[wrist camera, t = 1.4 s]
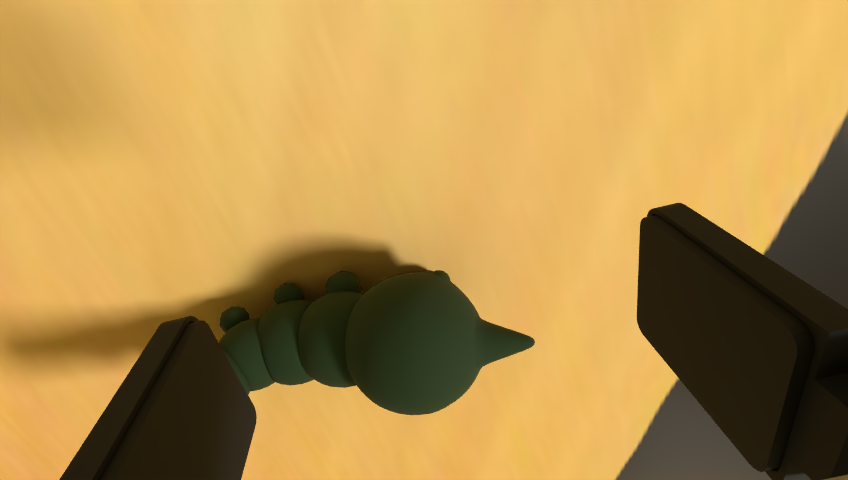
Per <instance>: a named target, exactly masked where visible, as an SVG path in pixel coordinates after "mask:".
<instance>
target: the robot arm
mask: <svg viewBox="0 0 848 480" xmlns="http://www.w3.org/2000/svg"><path fill="white" fill-rule="evenodd" d="M637 322H638V326H639V328H640V330H641V332H642V334H643V335H644V336H645V338H646V339H647V340H648V341H649V342H650V344H651V345H652V346H653V347H654V348H655V350H656V351H657V352H658V353H659V355H660V356H661V357H662V358H663V359H664V361H665V362H666V363H667V364H668V365H669V367H670V368H671V369H672V370H673V372H674V373H675V374H676V375H677V376H678V378H679V379H680V380H681V381H682V382H683V383H684V385H685V386H686V387H687V389H689V391H690V392H691V393H692V395H693V396H694V397H695V398H696V399H697V401H698V402H699V403H700V404H701V405H702V407H703V408H704V409H705V410H706V412H707V413H708V414H709V415H710V416H711V418H712V419H713V420H714V421H715V423H716V424H717V425H718V426H719V427H720V429H721V430H722V431H723V432H724V433H725V435H726V436H727V437H728V438H729V439H730V441H731V442H732V443H733V444H734V445H735V447H736V448H737V449H738V450H739V451H740V453H741V454H742V455H743V456H744V458H745V459H746V460H747V461H748V462H749V464H750V465H751V466H752V467H753V468H755V469H756V470H758V471H760V472H763V471H765V472H766V473H767V474H768V475H769V477H770V478H771V479H772V480H848V309H846V308H845V307H843V306H842V305H840V304H838V303H837V302H836V301H834V300H832V299H831V298H829V297H828V296H826V295H825V294H823V293H821V292H820V291H818V290H816V289H815V288H814V287H812V286H810V285H809V284H807V283H806V282H804V281H803V280H801V279H800V278H798V277H796V276H795V275H793V274H792V273H790V272H789V271H787V270H785V269H784V268H782V267H781V266H779V265H778V264H776V263H775V262H773V261H772V260H770V259H768V258H767V257H765V256H764V255H762V254H761V253H759V252H758V251H756V250H754V249H753V248H751V247H750V246H748V245H747V244H745V243H744V242H742V241H740V240H739V239H737V238H736V237H734V236H733V235H731V234H730V233H728V232H726V231H725V230H723V229H722V228H720V227H719V226H717V225H715V224H714V223H712V222H711V221H709V220H708V219H706V218H705V217H703V216H701V215H700V214H698V213H697V212H695V211H694V210H692V209H691V208H689V207H687V206H686V205H684V204H682V203H675V204H671V205H667V206H663V207H658V208H654V209H651V210H650V211H649V212H648V215H647V217H645V218H643V219H642V220H641V224H640V244H639V271H638V299H637ZM255 425H256V411H255V407H254V405H253V403H252V402H251V400H250V398H249V396H248V395H247V393H246V391H245V389H244V387H243V386H242V384H241V382H240V380H239V379H238V377H237V375H236V373H235V371H234V370H233V368H232V366H231V364H230V363H229V361H228V359H227V357H226V355H225V354H224V352H223V350H222V348H221V347H220V345H219V343H218V341H217V339H216V338H215V336H214V334H213V332H212V331H211V329H210V327H209V325H208V324H207V323H206V322H205V321H199V320H198V319H197V318H195V317H193V316H189V317H184V318H180V319H176V320H171V321H167V322H164V323H162V324H161V325H160V326H159V327H158V329H157V330H156V332H155V334H154V335H153V337H152V338H151V340H150V341H149V343H148V344H147V346H146V347H145V349H144V350H143V352H142V354H141V355H140V357H139V358H138V360H137V361H136V363H135V364H134V366H133V367H132V369H131V371H130V372H129V374H128V375H127V377H126V378H125V380H124V381H123V383H122V384H121V386H120V387H119V389H118V391H117V392H116V394H115V395H114V397H113V398H112V400H111V401H110V403H109V404H108V406H107V407H106V409H105V411H104V412H103V414H102V415H101V417H100V418H99V420H98V421H97V423H96V424H95V426H94V427H93V429H92V431H91V432H90V434H89V435H88V437H87V438H86V440H85V441H84V443H83V444H82V446H81V447H80V449H79V451H78V452H77V454H76V455H75V457H74V458H73V460H72V461H71V463H70V464H69V466H68V467H67V469H66V471H65V472H64V474H63V475H62V477H61V478H60V480H241V477H242V474H243V470H244V466H245V462H246V459H247V455H248V451H249V448H250V444H251V440H252V437H253V433H254V429H255Z"/></svg>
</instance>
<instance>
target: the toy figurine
mask: <svg viewBox="0 0 848 480" xmlns="http://www.w3.org/2000/svg"><path fill="white" fill-rule="evenodd" d="M360 292H361V290H360V285H359V282H358V280H357V277H356V276H355V275H354V274H352V273H350V272H345V271H341V272H339V273H337V274H335V275H333V276H331V277H329V279H328V282H327V284H326V293H327V294H326V295H324V296H322V297H320V298H318V299H317V300H316V301H314V302H313V303H312V302H309V301H305V300H302V298H303V296H302V292H301V290H300V289H299V288H298V287H297V286H296V285H295V284H294V283H284V284H283V285H281V286H280V287H279V288H277V289H276V290H275V294H274V300H275V301H276V303H277V304H276V305H275V306H274V307H272V308H271V309H269V310H268V311H266V312H265V313H264V314H263V316H262V317H261V318H258V319H249V314H248V312H247V311H246V310H245V309H244V308H241V307H230V308H229V309H227V310H225V311H224V312H223V313H222V315H221V318H220V326H221V327H222V329H223V331H224V332H226V333H225V335H224V336H223V337H222V338H221V340H220V342H219V345H220V347H221V348H222V350H223V352H224V354H225V355H226V357H227V359H228V361H229V363H230V364H231V366H232V368H233V370H234V371H235V373H236V375H237V377H238V379H239V380H240V382H241V384H242V386H243V387H244V389H245V391H246V393H247V395H248V394H249V392H250V391H255V390H260V389H263V388H265V387H268V386H270V385H271V384H273V383H274V382H277V383H280V384H285V385H297V384H303V383H306V382H309V381H311V380H314V379H315V380H316V381H318V382H320V383H321V384H325V385H328V386H332V387H350V386H355V385H357V386H358V388H359V389H360V390H361V391H362V392H363V393H364V394H365V395H366V396H367V397H368V398H369V399H370V400H371V401H372V402H374V403H375V404H377V405H378V406H380V407H382V408H384V409H387V410H389V411H392V412H396V413H399V414H406V415H421V414H430V413H434V412H437V411H439V410H441V409H443V408H445V407H447V406H448V405H450V404H452V403H453V402H455V401H456V400H457V399H459V398H460V397H461V396H462V395H463V394H464V393H465V392H466V391H467V390H468V389H469V388H470V386H471V385H472V383H473V382H474V380H475V379H476V377H477V375H478V373H479V371H480V369H481V368H482V367H483V366H485V365H487V364H489V363H491V362H494V361H497V360H499V359H502V358H505V357H508V356H510V355H513V354H516V353H519V352H521V351H524V350H526V349H529V348H530V347H532V346H533V345H534V343H535V341H534V339H533V338H531V337H530V336H527V335H525V334H522V333H519V332H516V331H513V330H510V329H507V328H504V327H501V326H498V325H495V324H492V323H489V322H487V321H484V320H482V319H481V318H480V317H479V315H478V313H477V311H476V309H475V307H474V306H473V304H472V303H471V302H470V300H469V299H468V298H467V297H466V295H465V294H464V293H463V292H462V291H461V290H460V289H459V288H458V287H456V286H455V285H454V284H453V283H452V282H451V281H450V278H449V276H448V274H447V273H445V272H444V271H440V270H438V271H434V272H433V271H430V270H429V271H422V272H413V273H406V274H400V275H396V276H392V277H389V278H387V279H385V280H383V281H381V282H379V283H378V284H376V285H375V286H373V287H371V288H370V289H369V290H368V291H367V292H366V293H365V294H364V295H363V294H361V293H360Z"/></svg>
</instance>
